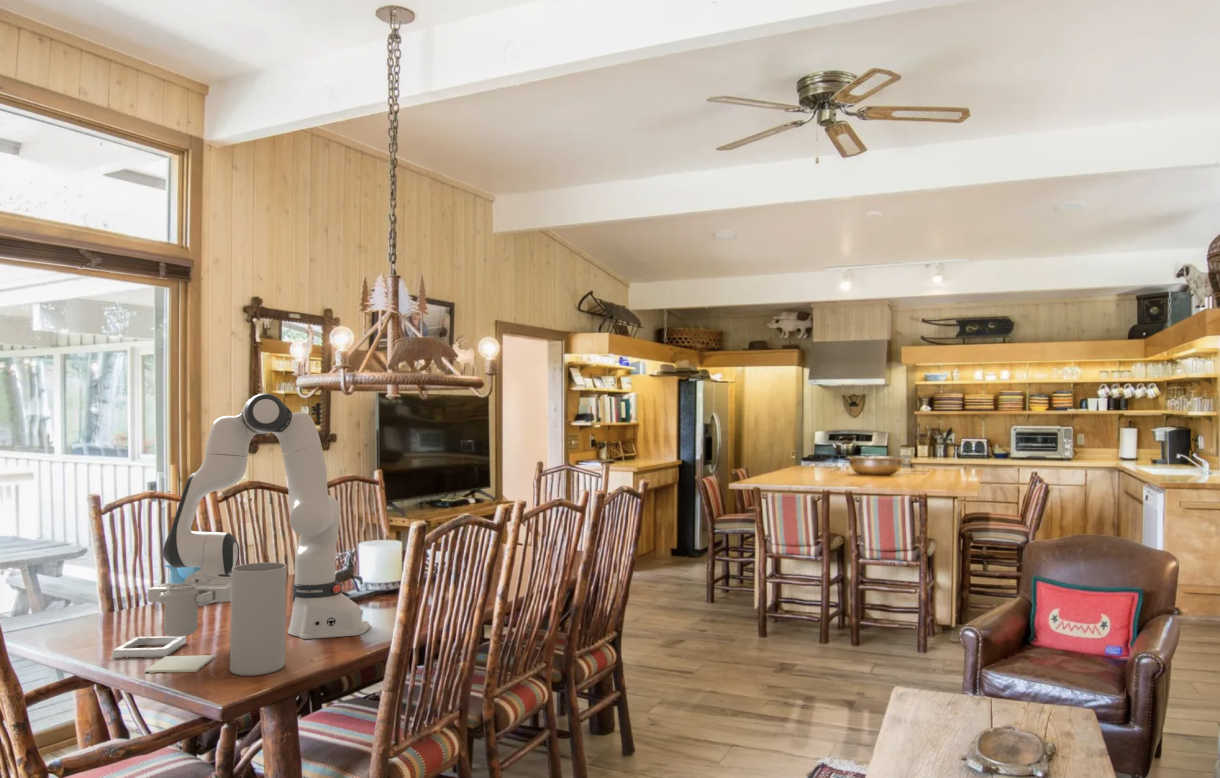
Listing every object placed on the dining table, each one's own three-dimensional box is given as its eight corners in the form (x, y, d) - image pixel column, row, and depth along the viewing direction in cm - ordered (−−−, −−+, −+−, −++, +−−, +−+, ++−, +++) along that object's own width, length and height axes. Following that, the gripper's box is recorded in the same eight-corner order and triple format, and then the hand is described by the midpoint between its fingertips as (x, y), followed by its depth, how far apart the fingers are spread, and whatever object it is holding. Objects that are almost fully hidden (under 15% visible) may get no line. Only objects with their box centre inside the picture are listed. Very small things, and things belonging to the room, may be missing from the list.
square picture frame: (185, 643, 228) (186, 635, 228) (165, 656, 215) (166, 649, 215) (135, 644, 226) (135, 636, 226) (112, 658, 213) (112, 650, 214)
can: (183, 638, 204) (184, 589, 204) (156, 636, 205) (158, 587, 206) (204, 630, 211) (205, 583, 212) (178, 629, 213) (179, 581, 213)
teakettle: (231, 590, 296) (232, 548, 297) (226, 601, 279) (227, 557, 279) (172, 593, 290) (173, 551, 291) (162, 605, 272) (163, 560, 273)
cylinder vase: (281, 659, 214) (283, 561, 215) (287, 672, 203) (289, 569, 204) (228, 665, 208) (230, 564, 209) (231, 679, 197) (233, 573, 198)
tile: (214, 657, 215) (214, 655, 215) (196, 671, 203) (196, 669, 203) (165, 658, 213) (165, 656, 213) (144, 673, 202) (144, 670, 202)
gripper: (160, 576, 221) (136, 587, 207) (241, 575, 223) (222, 586, 209) (159, 600, 220) (136, 612, 207) (240, 599, 223) (222, 611, 209)
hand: (180, 599), depth 208 cm, fingers closed on can, 7 cm apart
